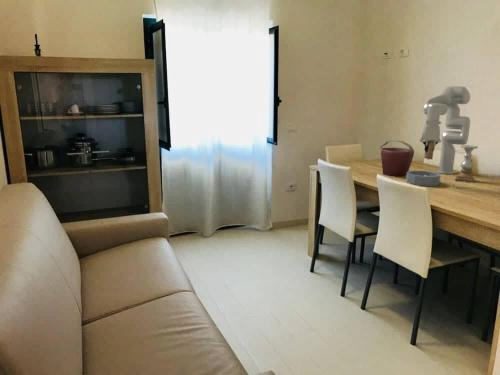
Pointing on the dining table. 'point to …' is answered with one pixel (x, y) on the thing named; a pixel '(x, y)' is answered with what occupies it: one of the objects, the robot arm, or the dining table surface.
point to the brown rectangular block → (430, 150)
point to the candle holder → (466, 165)
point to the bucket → (396, 160)
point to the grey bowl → (423, 178)
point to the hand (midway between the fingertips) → (429, 151)
